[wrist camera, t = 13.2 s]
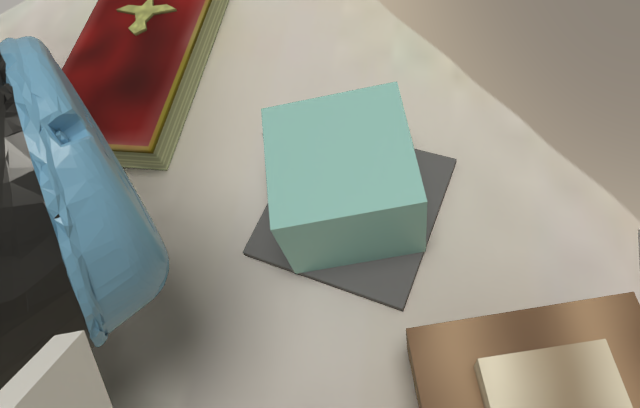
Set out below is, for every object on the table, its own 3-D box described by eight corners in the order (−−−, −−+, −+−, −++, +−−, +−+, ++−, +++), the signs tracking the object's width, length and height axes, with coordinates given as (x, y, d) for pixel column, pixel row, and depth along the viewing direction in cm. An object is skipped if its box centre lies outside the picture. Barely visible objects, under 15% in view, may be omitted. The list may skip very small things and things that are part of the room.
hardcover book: (48, 168, 45) (16, 140, 41) (130, 1, 55) (109, -34, 51) (172, 177, 42) (149, 148, 39) (235, -1, 52) (221, -37, 48)
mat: (244, 255, 37) (242, 252, 37) (310, 126, 42) (309, 122, 42) (403, 311, 33) (402, 308, 33) (455, 162, 38) (456, 159, 38)
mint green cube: (295, 273, 35) (270, 230, 29) (284, 166, 40) (261, 108, 34) (425, 251, 35) (427, 201, 29) (400, 144, 39) (396, 81, 33)
